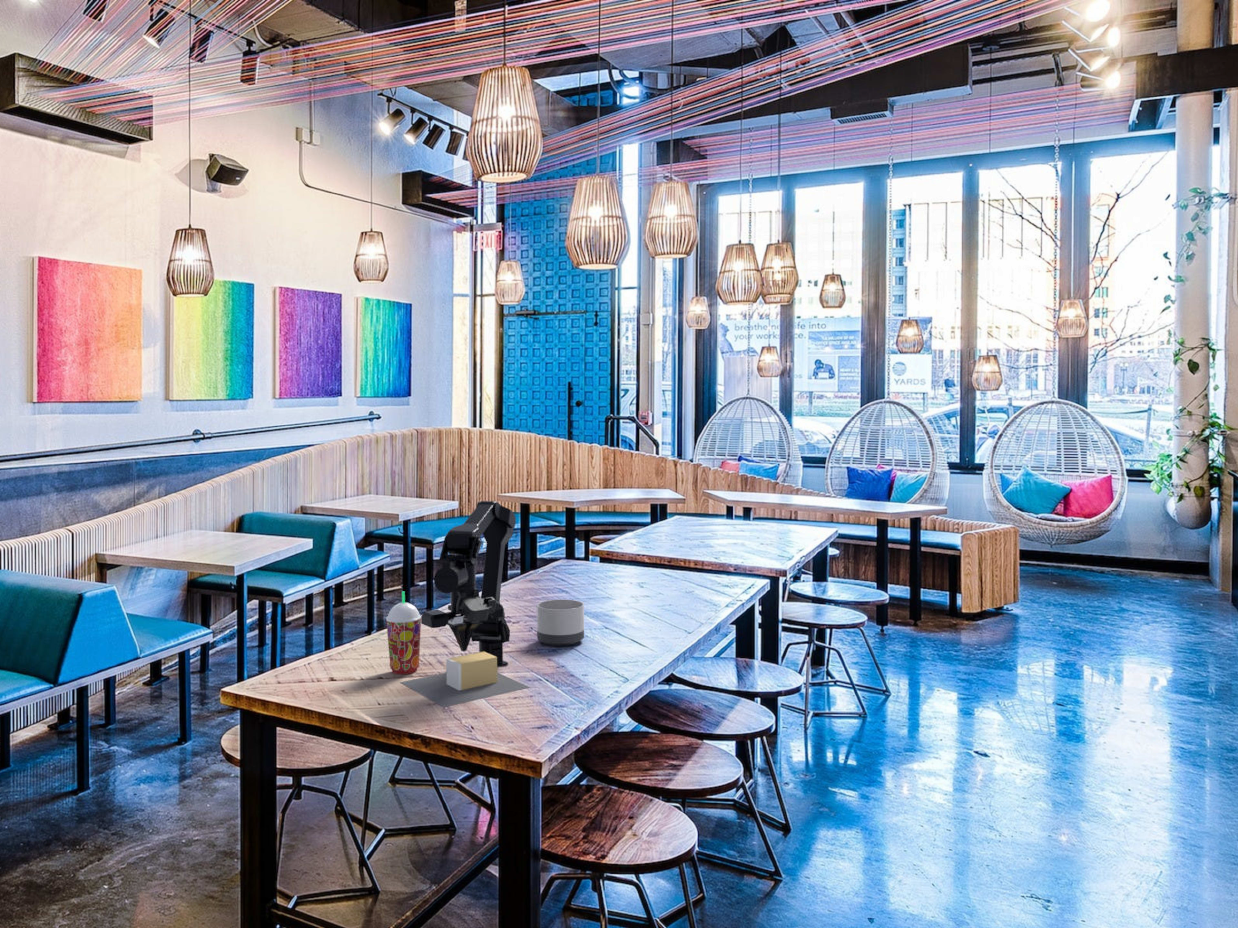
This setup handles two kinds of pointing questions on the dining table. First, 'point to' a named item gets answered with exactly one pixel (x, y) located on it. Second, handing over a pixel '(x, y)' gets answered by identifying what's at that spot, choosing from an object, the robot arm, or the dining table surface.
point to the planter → (560, 622)
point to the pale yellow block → (471, 670)
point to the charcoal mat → (448, 695)
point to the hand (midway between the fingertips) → (463, 650)
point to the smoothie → (404, 637)
